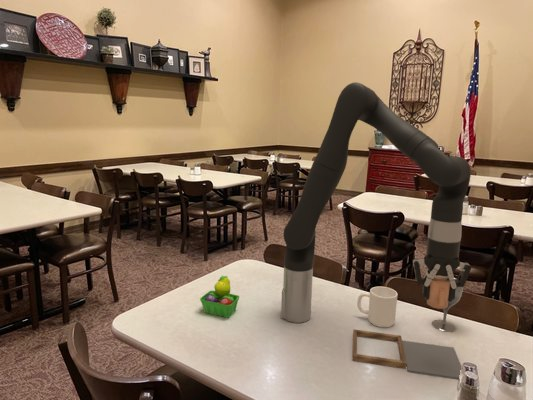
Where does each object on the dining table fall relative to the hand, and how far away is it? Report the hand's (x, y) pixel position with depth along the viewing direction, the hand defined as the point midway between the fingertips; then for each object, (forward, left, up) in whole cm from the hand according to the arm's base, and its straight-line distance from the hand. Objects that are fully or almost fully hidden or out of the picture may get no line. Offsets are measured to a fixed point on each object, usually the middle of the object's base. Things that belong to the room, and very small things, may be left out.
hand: (437, 299), depth 101 cm
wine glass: (+7, +20, -18) cm, 28 cm away
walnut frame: (-14, +1, -18) cm, 22 cm away
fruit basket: (-64, +11, -18) cm, 67 cm away
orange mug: (0, 0, -1) cm, 1 cm away
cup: (-14, +18, -18) cm, 29 cm away
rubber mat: (0, 0, -18) cm, 18 cm away
